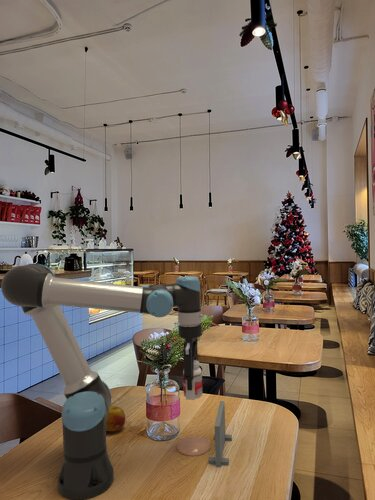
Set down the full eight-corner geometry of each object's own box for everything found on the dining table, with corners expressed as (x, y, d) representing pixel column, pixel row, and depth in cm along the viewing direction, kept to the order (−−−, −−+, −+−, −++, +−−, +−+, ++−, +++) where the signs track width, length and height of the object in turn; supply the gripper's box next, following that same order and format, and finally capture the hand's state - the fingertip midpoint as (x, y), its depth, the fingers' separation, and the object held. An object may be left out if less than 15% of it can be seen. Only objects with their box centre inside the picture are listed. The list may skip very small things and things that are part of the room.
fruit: (130, 425, 140) (129, 403, 140) (119, 437, 131) (118, 414, 131) (106, 422, 142) (105, 401, 142) (94, 434, 133) (93, 411, 133)
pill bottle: (182, 392, 126) (181, 359, 126) (201, 391, 126) (200, 358, 126) (184, 400, 120) (183, 365, 119) (203, 398, 120) (202, 364, 120)
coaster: (208, 457, 117) (208, 455, 117) (173, 454, 119) (173, 452, 119) (212, 439, 128) (212, 437, 128) (180, 437, 130) (180, 435, 130)
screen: (228, 467, 111) (227, 426, 111) (208, 465, 112) (206, 425, 112) (232, 436, 129) (231, 401, 129) (214, 435, 130) (213, 400, 130)
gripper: (196, 331, 113) (199, 408, 113) (205, 318, 131) (207, 384, 132) (172, 331, 114) (174, 407, 114) (183, 318, 133) (186, 383, 133)
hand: (192, 394), depth 123 cm, fingers closed on pill bottle, 6 cm apart
